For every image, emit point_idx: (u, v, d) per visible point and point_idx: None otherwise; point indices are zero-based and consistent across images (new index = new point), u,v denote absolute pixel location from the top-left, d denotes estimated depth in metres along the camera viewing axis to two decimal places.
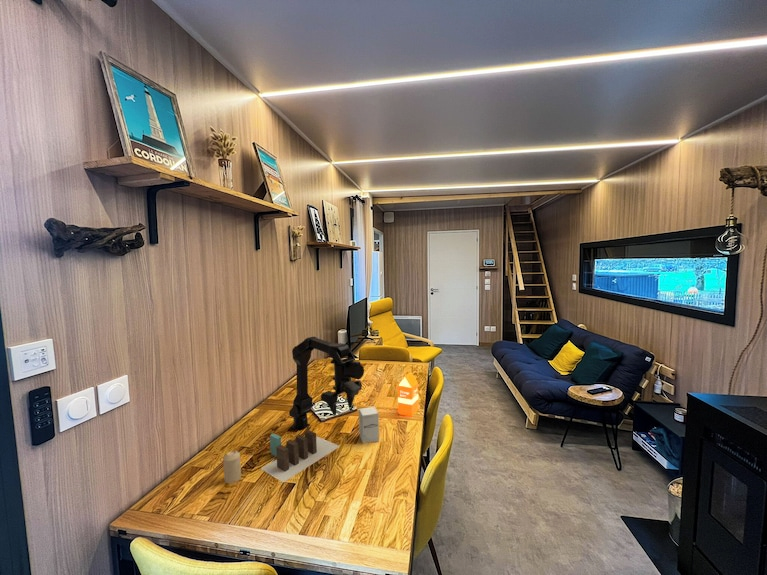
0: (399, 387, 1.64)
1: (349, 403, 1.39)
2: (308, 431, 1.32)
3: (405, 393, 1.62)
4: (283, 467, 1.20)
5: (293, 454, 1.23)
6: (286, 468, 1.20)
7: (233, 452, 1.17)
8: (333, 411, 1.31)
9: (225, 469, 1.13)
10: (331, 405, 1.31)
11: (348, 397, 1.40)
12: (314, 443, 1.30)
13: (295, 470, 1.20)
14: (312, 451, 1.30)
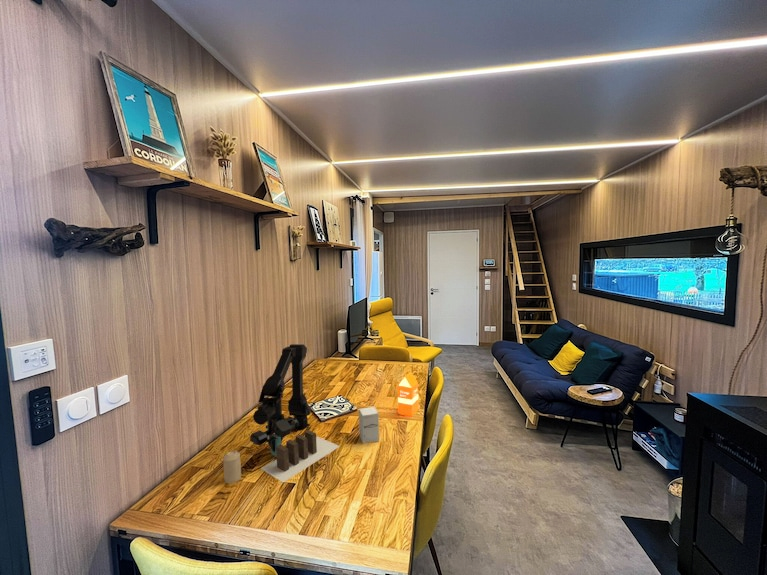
0: (399, 387, 1.64)
1: None
2: (308, 431, 1.32)
3: (405, 393, 1.62)
4: (283, 467, 1.20)
5: (293, 454, 1.23)
6: (286, 468, 1.20)
7: (233, 452, 1.17)
8: (272, 448, 1.29)
9: (225, 469, 1.13)
10: (270, 442, 1.28)
11: None
12: (314, 443, 1.30)
13: (295, 470, 1.20)
14: (312, 451, 1.30)
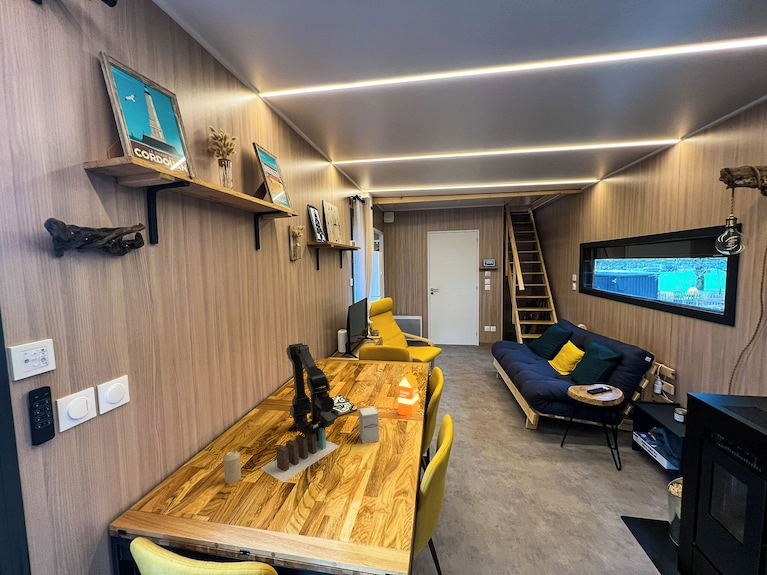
0: (399, 387, 1.64)
1: None
2: None
3: (405, 393, 1.62)
4: (283, 467, 1.20)
5: (293, 454, 1.23)
6: (286, 468, 1.20)
7: (233, 452, 1.17)
8: None
9: (225, 469, 1.13)
10: (314, 431, 1.34)
11: None
12: (314, 443, 1.30)
13: (295, 470, 1.20)
14: (312, 451, 1.30)
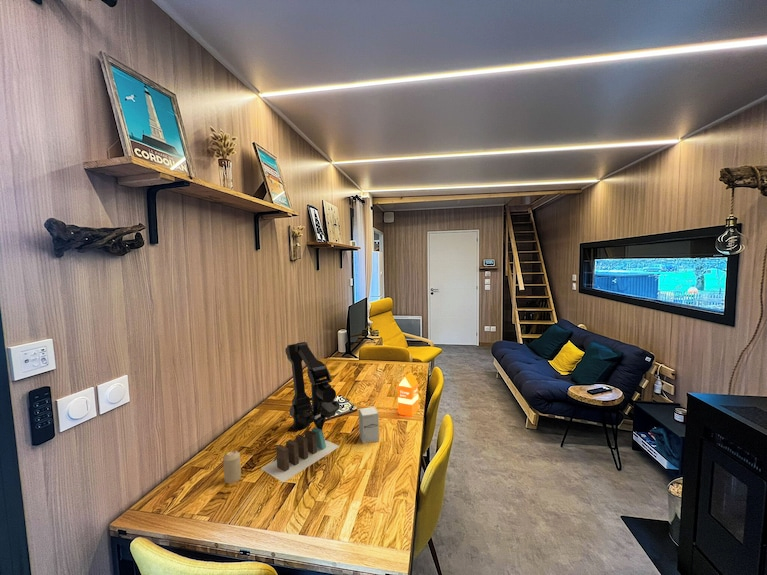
0: (399, 387, 1.64)
1: None
2: (308, 431, 1.32)
3: (405, 393, 1.62)
4: (283, 467, 1.20)
5: (293, 454, 1.23)
6: (286, 468, 1.20)
7: (233, 452, 1.17)
8: (318, 427, 1.35)
9: (225, 469, 1.13)
10: (316, 422, 1.35)
11: None
12: (314, 443, 1.30)
13: (295, 470, 1.20)
14: (312, 451, 1.30)
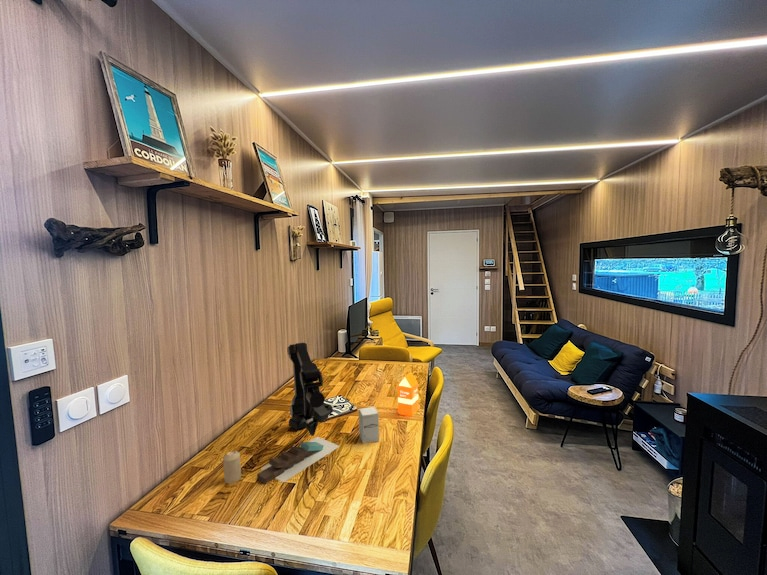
0: (399, 387, 1.64)
1: None
2: (292, 450, 1.26)
3: (405, 393, 1.62)
4: None
5: None
6: (282, 471, 1.18)
7: (233, 452, 1.17)
8: (310, 432, 1.32)
9: (225, 469, 1.13)
10: (309, 426, 1.31)
11: None
12: (305, 453, 1.27)
13: (295, 470, 1.20)
14: (309, 454, 1.29)
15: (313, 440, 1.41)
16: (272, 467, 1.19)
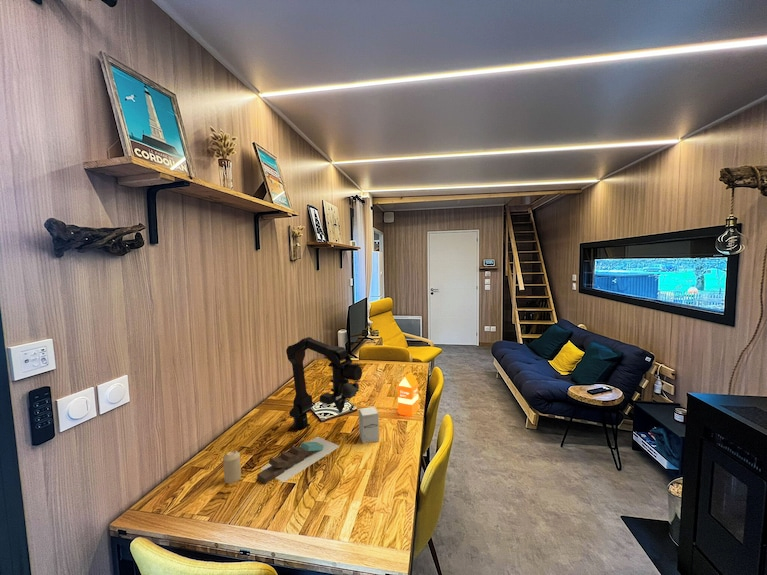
0: (399, 387, 1.64)
1: None
2: (292, 450, 1.26)
3: (405, 393, 1.62)
4: None
5: None
6: (282, 471, 1.18)
7: (233, 452, 1.17)
8: (339, 408, 1.40)
9: (225, 469, 1.13)
10: (337, 403, 1.40)
11: None
12: (305, 453, 1.27)
13: (295, 470, 1.20)
14: (309, 454, 1.29)
15: (313, 440, 1.41)
16: (272, 468, 1.19)
